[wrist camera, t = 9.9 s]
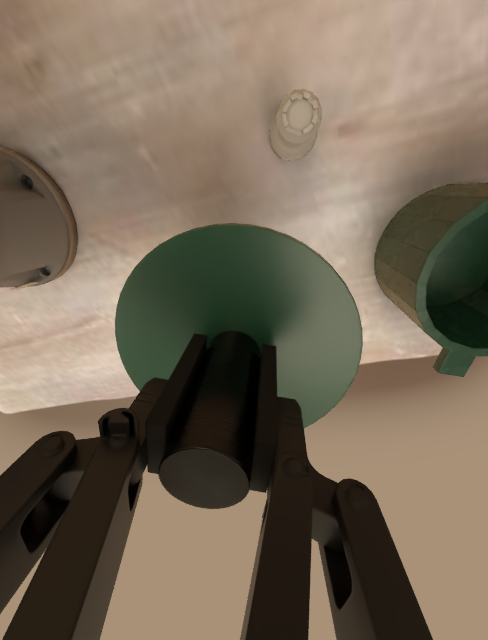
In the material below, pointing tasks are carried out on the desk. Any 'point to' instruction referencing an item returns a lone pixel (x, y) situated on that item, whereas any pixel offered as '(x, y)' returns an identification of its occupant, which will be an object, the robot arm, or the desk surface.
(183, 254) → the lid
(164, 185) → the desk surface
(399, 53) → the desk surface
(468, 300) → the pot
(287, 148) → the rook chess piece
